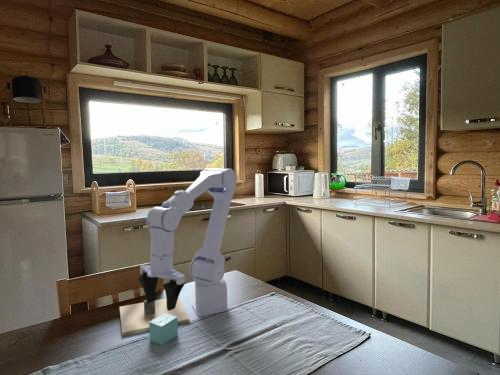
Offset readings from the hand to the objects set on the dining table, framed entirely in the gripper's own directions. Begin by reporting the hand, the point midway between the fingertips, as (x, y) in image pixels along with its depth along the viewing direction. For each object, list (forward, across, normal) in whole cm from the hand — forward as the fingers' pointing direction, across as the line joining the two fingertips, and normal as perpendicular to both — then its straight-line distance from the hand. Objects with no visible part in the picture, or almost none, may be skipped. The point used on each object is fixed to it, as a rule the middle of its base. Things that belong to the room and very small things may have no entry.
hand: (160, 305), depth 86 cm
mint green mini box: (+9, 0, +1) cm, 9 cm away
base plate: (+8, -11, +7) cm, 15 cm away
